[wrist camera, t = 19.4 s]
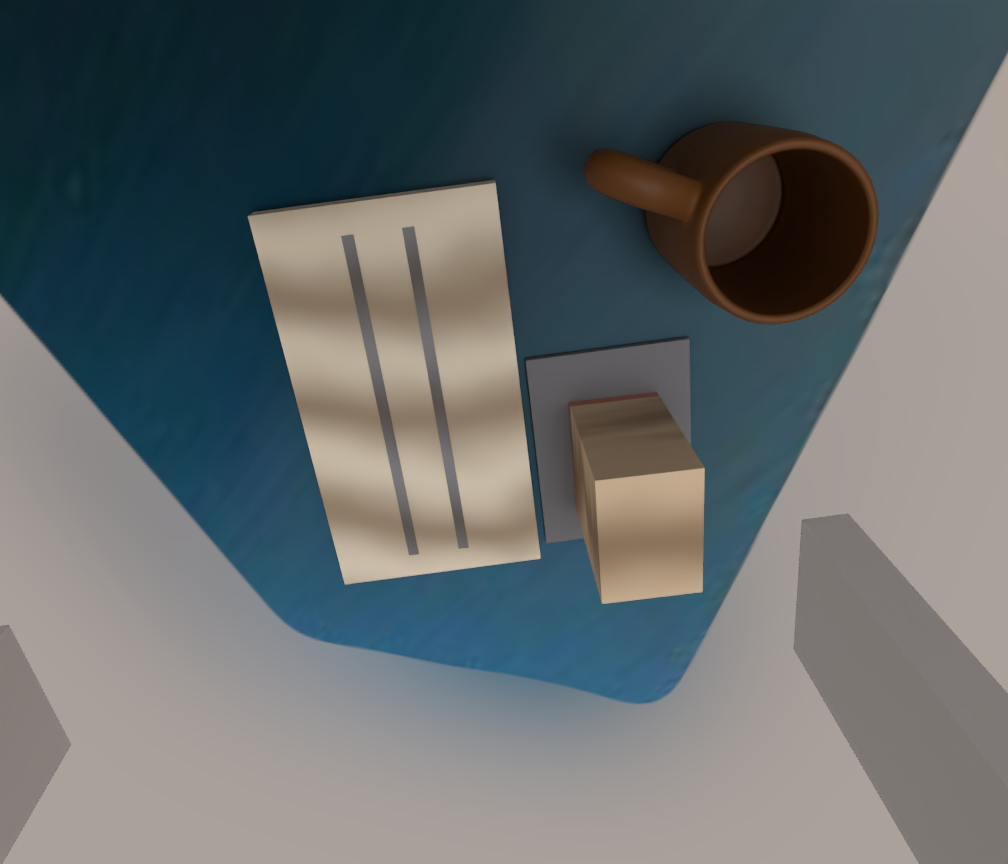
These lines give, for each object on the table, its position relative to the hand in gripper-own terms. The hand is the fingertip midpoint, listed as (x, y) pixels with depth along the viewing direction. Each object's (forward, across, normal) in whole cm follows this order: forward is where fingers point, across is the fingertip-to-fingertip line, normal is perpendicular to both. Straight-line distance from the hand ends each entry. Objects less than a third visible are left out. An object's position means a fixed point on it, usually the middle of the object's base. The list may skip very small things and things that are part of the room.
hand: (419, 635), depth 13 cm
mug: (+29, +12, +2) cm, 31 cm away
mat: (+29, +8, -12) cm, 32 cm away
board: (+29, -3, -8) cm, 30 cm away
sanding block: (+28, +8, -12) cm, 32 cm away
